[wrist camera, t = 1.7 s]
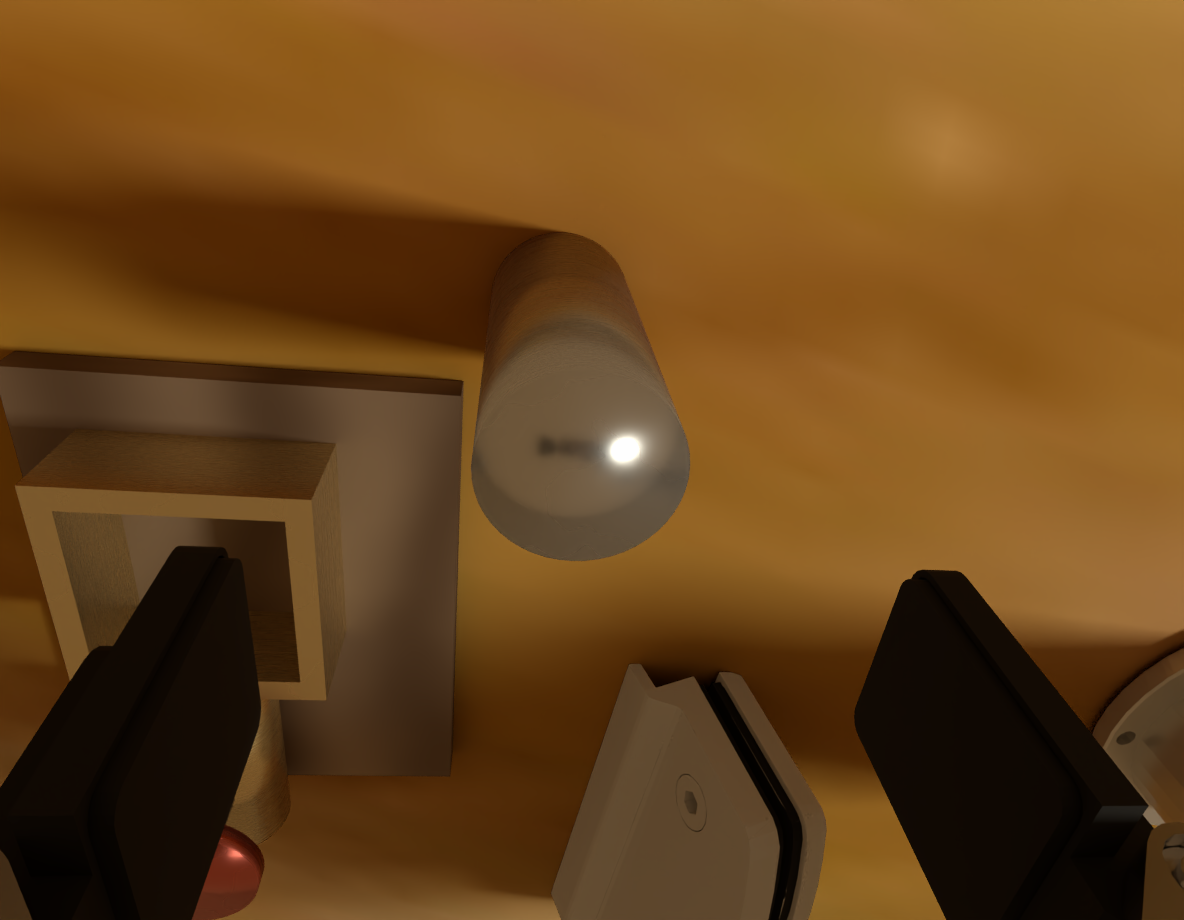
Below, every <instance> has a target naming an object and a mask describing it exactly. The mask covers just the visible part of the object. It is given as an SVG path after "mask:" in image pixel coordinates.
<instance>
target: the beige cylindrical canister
mask: <svg viewBox="0 0 1184 920" xmlns="http://www.w3.org/2000/svg"><path fill="white" fill-rule="evenodd" d="M689 470H690V453H689V448H688V442H687V439H686V436H685V433H684V430H683V428H682V425H681V422H680V420H679V417H678V415H677V412H676V409H675V407H674V404H673V402H672V399H671V397H670V394H669V391H668V389H667V386H666V384H665V381H664V378H663V376H662V373H661V371H660V368H659V365H658V363H657V360H656V358H655V355H654V352H653V350H652V347H651V345H650V342H649V340H648V337H647V334H646V332H645V329H644V327H643V324H642V321H641V319H640V316H639V314H638V311H637V308H636V306H635V303H634V301H633V298H632V296H631V293H630V290H629V288H628V285H627V283H626V280H625V277H624V275H623V272H622V270H621V269H620V267H619V265H618V263H617V262H616V260H615V259H614V258H613V257H612V255H611V254H610V253H609V252H608V251H607V250H606V249H604V248H603V247H602V246H601V245H599V244H598V243H596V242H594V241H593V240H590V239H588V238H586V237H583V236H580V235H577V234H572V233H559V232H557V233H548V234H544V235H539V236H537V237H534V238H532V239H529V240H528V241H526V242H524V243H522V244H521V245H519V246H518V247H517V248H515V249H514V250H513V251H512V252H511V253H510V254H509V255H508V256H507V258H506V259H505V260H504V261H503V263H502V264H501V266H500V268H499V270H498V272H497V274H496V277H495V279H494V283H493V287H492V295H491V304H490V312H489V320H488V329H487V337H486V346H485V354H484V362H483V371H482V379H481V388H480V396H479V405H478V413H477V421H476V430H475V438H474V447H473V455H472V464H471V472H472V483H473V488H474V492H475V495H476V498H477V500H478V503H479V505H480V507H481V509H482V511H483V512H484V514H485V515H486V517H487V518H488V520H489V521H490V522H491V524H492V525H493V526H494V527H495V528H496V529H497V530H498V531H499V532H500V533H501V534H502V535H504V536H505V537H506V538H507V539H509V540H510V541H511V542H513V543H515V544H516V545H518V546H520V547H521V548H523V549H526V550H528V551H530V552H532V553H535V554H538V555H541V556H544V557H548V558H553V559H558V560H568V561H586V560H595V559H601V558H605V557H610V556H613V555H616V554H619V553H622V552H624V551H627V550H629V549H631V548H633V547H635V546H637V545H639V544H640V543H642V542H643V541H645V540H647V539H648V538H649V537H651V536H652V535H653V534H654V533H656V532H657V531H658V530H659V529H660V528H661V527H662V526H663V525H664V524H665V523H666V522H667V521H668V519H669V518H670V517H671V516H672V514H673V513H674V512H675V510H676V508H677V507H678V505H679V503H680V501H681V499H682V497H683V494H684V492H685V489H686V486H687V482H688V478H689Z"/></svg>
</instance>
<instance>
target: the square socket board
mask: <svg viewBox="0 0 1184 920" xmlns="http://www.w3.org/2000/svg"><path fill="white" fill-rule="evenodd" d="M15 489H16V492H17V496H18V499H19V503H20V507H21V510H22V514H23V517H24V521H25V524H26V528H27V531H28V535H29V538H30V542H31V545H32V549H33V552H34V556H35V559H36V563H37V566H38V570H39V573H40V577H41V580H42V584H43V588H44V591H45V595H46V598H47V602H48V605H49V609H50V612H51V616H52V619H53V623H54V626H55V630H56V633H57V637H58V640H59V644H60V647H61V651H62V654H63V658H64V661H65V665H66V668H67V672H68V676H69V679H70V680H71V679H72V677H73V676H74V674H75V673H76V671H77V670H78V668H79V667H80V665H81V664H82V662H83V661H84V659H85V658H86V657H87V656H88V654H89V653H90V652H91V651H92V650H93V649H95V648H97V647H99V646H113V645H114V643H115V642H116V640H117V639H118V637H119V635H120V634H121V632H122V631H123V629H124V627H125V626H126V624H127V623H128V621H129V619H130V618H131V616H132V615H133V613H134V611H135V610H136V608H137V607H138V605H139V603H140V600H139V595H138V591H137V586H136V581H135V577H134V572H133V567H132V562H131V558H130V553H129V548H128V544H127V539H126V534H125V530H124V525H123V520H122V516H121V514H125V515H147V516H169V517H191V518H213V519H235V520H258V521H280V522H285V527H286V538H287V548H288V558H289V569H290V579H291V590H292V600H293V611H294V613H292V612H261V611H249V617H250V624H251V632H252V639H253V647H254V654H255V661H256V669H257V676H258V684H259V691H260V699H261V717H260V723H259V728H258V731H257V735H256V737H255V740H254V743H253V746H252V749H251V752H250V755H249V757H248V760H247V763H246V766H245V769H244V772H243V775H242V777H241V780H240V783H239V786H238V789H237V792H236V795H235V797H234V800H233V803H232V806H231V809H230V812H229V815H228V817H227V820H226V823H225V826H224V829H223V832H222V835H221V838H220V840H219V843H218V846H217V849H216V852H215V855H214V858H213V860H212V863H211V866H210V869H209V872H208V875H207V878H206V880H205V883H204V886H203V889H202V892H201V895H200V898H199V900H198V903H197V906H196V909H195V912H194V915H193V918H192V920H212V919H218V918H222V917H226V916H229V915H231V914H234V913H236V912H238V911H240V910H242V909H243V908H245V907H246V906H247V905H248V904H249V903H250V902H251V901H252V900H253V899H254V897H255V896H256V893H257V891H258V888H259V884H260V881H261V878H262V874H263V871H264V858H263V855H262V853H261V851H260V849H259V848H258V846H257V844H259V843H261V842H263V841H265V840H266V839H268V838H269V837H271V836H272V835H273V834H274V833H275V832H276V831H277V830H278V829H279V828H280V827H281V826H282V824H283V823H284V822H285V820H286V818H287V816H288V813H289V810H290V804H291V800H290V791H289V782H288V774H287V765H286V756H285V748H284V739H283V730H282V721H281V713H280V704H279V700H327V697H328V694H329V690H330V687H331V683H332V680H333V676H334V673H335V670H336V666H337V663H338V659H339V656H340V652H341V649H342V645H343V642H344V638H345V635H346V632H347V627H346V609H345V591H344V573H343V555H342V537H341V519H340V501H339V483H338V465H337V447H336V444H335V443H318V442H300V441H282V440H265V439H247V438H230V437H212V436H194V435H177V434H159V433H142V432H124V431H106V430H89V429H76V430H75V431H74V432H72V433H71V434H70V435H69V436H68V437H67V438H66V439H65V440H64V441H63V442H62V443H60V444H59V445H58V446H57V447H56V448H55V449H54V450H53V451H52V452H51V453H50V454H48V455H47V456H46V457H45V458H44V459H43V460H42V461H41V462H40V463H39V464H38V465H36V466H35V467H34V468H33V469H32V470H31V471H30V472H29V473H28V474H27V475H26V476H24V477H23V478H22V479H21V480H20V481H19V482H18V483H17V484H16V485H15Z"/></svg>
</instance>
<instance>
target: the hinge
mask: <svg viewBox="0 0 1184 920" xmlns="http://www.w3.org/2000/svg"><path fill="white" fill-rule="evenodd" d="M825 837H826V820H825V817H824V813H823V810H822V808H821V806H820V804H819V802H818V801H817V799H816V797H815V796H814V794H813V793H812V791H811V789H810V788H809V786H808V784H807V783H806V781H805V779H804V778H803V776H802V774H801V773H800V771H799V770H798V768H797V766H796V765H795V763H794V761H793V760H792V758H791V756H790V755H789V753H788V751H787V750H786V748H785V747H784V745H783V743H782V742H781V740H780V738H779V737H778V735H777V733H776V732H775V730H774V728H773V727H772V725H771V724H770V722H769V720H768V719H767V717H766V715H765V714H764V712H763V710H762V709H761V707H760V706H759V704H758V702H757V701H756V699H755V697H754V696H753V694H752V692H751V691H750V689H749V687H748V686H747V684H746V683H745V681H744V679H743V678H742V676H741V675H738V674H735V673H732V672H719V674H718V676H717V679H716V681H715V683H712V685H711V688H710V690H709V693H708V692H707V690H706V689H705V687H704V685H698V683H697V681H696V679H695V678H694V676H693V677H690V678H686V679H683V680H680V681H676V682H673V683H670V684H667V685H663V686H660V687H657V688H656V687H655V686H654V684H653V683H652V681H651V680H650V678H649V676H648V675H647V673H646V672H645V670H644V669H643V667H642V665H641V664H629V666H628V669H627V672H626V674H625V677H624V680H623V683H622V686H621V689H620V692H619V695H618V698H617V701H616V704H615V707H614V710H613V713H612V716H611V718H610V721H609V724H608V727H607V730H606V733H605V736H604V739H603V742H602V745H601V748H600V751H599V754H598V757H597V760H596V762H595V765H594V768H593V771H592V774H591V777H590V780H589V783H588V786H587V789H586V792H585V795H584V798H583V801H582V804H581V806H580V809H579V812H578V815H577V818H576V821H575V824H574V827H573V830H572V833H571V836H570V839H569V842H568V845H567V848H566V850H565V853H564V856H563V859H562V862H561V865H560V868H559V871H558V874H557V877H556V880H555V883H554V886H553V889H552V892H551V895H552V897H553V900H554V902H555V905H556V907H557V910H558V913H559V915H560V918H561V920H808V918H809V915H810V912H811V909H812V905H813V902H814V898H815V894H816V890H817V887H818V881H819V876H820V871H821V866H822V860H823V853H824V845H825Z"/></svg>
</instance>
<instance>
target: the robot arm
mask: <svg viewBox="0 0 1184 920" xmlns="http://www.w3.org/2000/svg"><path fill="white" fill-rule="evenodd" d="M260 717H261V699H260V691H259V684H258V676H257V669H256V661H255V654H254V647H253V639H252V632H251V624H250V617H249V610H248V602H247V595H246V587H245V580H244V572H243V566H242V562H241V560H240V559H238V558H229V557H228V553H227V551H226V549H225V548H223V547H206V546H177V547H175V548H174V550H173V551H172V552H171V554H170V555H169V557H168V558H167V560H166V562H165V563H164V565H163V566H162V568H161V570H160V571H159V573H158V574H157V576H156V578H155V579H154V581H153V582H152V584H151V586H150V587H149V589H148V590H147V592H146V594H145V595H144V597H143V598H142V600H141V602H140V603H139V605H138V607H137V608H136V610H135V611H134V613H133V615H132V616H131V618H130V619H129V621H128V623H127V624H126V626H125V627H124V629H123V631H122V632H121V634H120V635H119V637H118V639H117V640H116V642H115V643H114V645H113V646H99V647H97V648H95V649H93V650H92V651H91V652H90V653H89V654H88V656H87V657H86V658H85V659H84V661H83V662H82V664H81V665H80V667H79V668H78V670H77V671H76V673H75V674H74V676H73V677H72V679H71V680H70V682H69V683H68V685H67V687H66V688H65V690H64V691H63V693H62V694H61V696H60V697H59V699H58V700H57V702H56V703H55V705H54V706H53V708H52V709H51V711H50V713H49V714H48V716H47V717H46V719H45V720H44V722H43V723H42V725H41V726H40V728H39V729H38V731H37V732H36V734H35V735H34V737H33V739H32V740H31V742H30V743H29V745H28V746H27V748H26V749H25V751H24V752H23V754H22V755H21V757H20V758H19V760H18V761H17V763H16V765H15V766H14V768H13V769H12V771H11V772H10V774H9V775H8V777H7V778H6V780H5V781H4V783H3V784H2V786H1V787H0V920H192V918H193V915H194V912H195V909H196V906H197V903H198V900H199V898H200V895H201V892H202V889H203V886H204V883H205V880H206V878H207V875H208V872H209V869H210V866H211V863H212V860H213V858H214V855H215V852H216V849H217V846H218V843H219V840H220V838H221V835H222V832H223V829H224V826H225V823H226V820H227V817H228V815H229V812H230V809H231V806H232V803H233V800H234V797H235V795H236V792H237V789H238V786H239V783H240V780H241V777H242V775H243V772H244V769H245V766H246V763H247V760H248V757H249V755H250V752H251V749H252V746H253V743H254V740H255V737H256V735H257V731H258V728H259V723H260ZM854 719H855V727H856V731H857V733H858V736H859V738H860V740H861V742H862V744H863V746H864V748H865V750H866V753H867V755H868V757H869V759H870V761H871V763H872V765H873V767H874V769H875V771H876V773H877V776H878V778H879V780H880V782H881V784H882V786H883V788H884V790H885V792H886V794H887V797H888V799H889V801H890V803H891V805H892V807H893V809H894V811H895V813H896V815H897V817H898V820H899V822H900V824H901V826H902V828H903V830H904V832H905V834H906V836H907V838H908V840H909V843H910V845H911V847H912V849H913V851H914V853H915V855H916V857H917V859H918V861H919V863H920V866H921V868H922V870H923V872H924V874H925V876H926V878H927V880H928V882H929V884H930V887H931V889H932V891H933V893H934V895H935V897H936V899H937V901H938V903H939V905H940V907H941V910H942V912H943V914H944V916H945V918H946V920H1184V648H1182V649H1180V650H1178V651H1176V652H1174V653H1173V654H1171V655H1169V656H1167V657H1165V658H1164V659H1162V660H1161V661H1159V662H1158V663H1156V664H1155V665H1153V666H1152V667H1150V668H1149V669H1147V670H1146V671H1144V672H1143V673H1142V674H1141V675H1139V676H1138V677H1137V678H1136V679H1135V680H1134V681H1132V682H1131V683H1130V684H1129V685H1128V686H1127V687H1125V688H1124V689H1123V690H1122V691H1121V693H1120V694H1119V695H1118V696H1117V697H1116V698H1115V699H1114V700H1113V702H1112V703H1111V704H1110V705H1109V706H1108V707H1107V709H1106V710H1105V712H1104V713H1103V715H1102V716H1101V718H1100V720H1099V721H1098V723H1097V724H1096V726H1095V729H1094V731H1093V734H1091V733H1090V731H1089V730H1088V729H1087V728H1086V726H1085V725H1084V724H1083V723H1082V721H1081V720H1080V719H1079V718H1078V716H1077V715H1076V714H1075V713H1074V711H1073V710H1072V709H1071V708H1070V706H1069V705H1068V704H1067V703H1066V701H1065V700H1064V699H1063V698H1062V696H1061V695H1060V694H1059V693H1058V691H1057V690H1056V689H1055V688H1054V686H1053V685H1052V684H1051V683H1050V681H1049V680H1048V679H1047V678H1046V676H1045V675H1044V674H1043V673H1042V671H1041V670H1040V669H1039V668H1038V666H1037V665H1036V664H1035V663H1034V661H1033V660H1032V659H1031V658H1030V656H1029V655H1028V654H1027V653H1026V651H1025V650H1024V649H1023V648H1022V646H1021V645H1020V644H1019V643H1018V641H1017V640H1016V639H1015V638H1014V636H1013V635H1012V634H1011V633H1010V631H1009V630H1008V629H1007V628H1006V626H1005V625H1004V624H1003V623H1002V621H1001V620H1000V619H999V618H998V616H997V615H996V614H995V613H994V611H993V610H992V609H991V608H990V606H989V605H988V604H987V603H986V601H985V600H984V599H983V598H982V596H981V595H980V594H979V593H978V591H977V590H976V589H975V588H974V586H973V585H972V584H971V583H970V581H969V580H968V579H967V578H966V577H965V576H964V575H963V574H962V573H961V572H958V571H945V570H919V571H917V572H916V573H915V574H914V575H913V577H912V579H908V580H905V581H904V582H903V583H902V585H901V587H900V590H899V592H898V595H897V598H896V600H895V603H894V606H893V608H892V611H891V614H890V616H889V619H888V622H887V624H886V627H885V630H884V633H883V635H882V638H881V641H880V643H879V646H878V649H877V651H876V654H875V657H874V659H873V662H872V665H871V667H870V670H869V673H868V675H867V678H866V681H865V683H864V686H863V689H862V691H861V694H860V697H859V700H858V702H857V705H856V708H855V715H854ZM1151 824H1152V825H1158V827H1156V828H1153V827H1152V826H1151Z"/></svg>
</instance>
